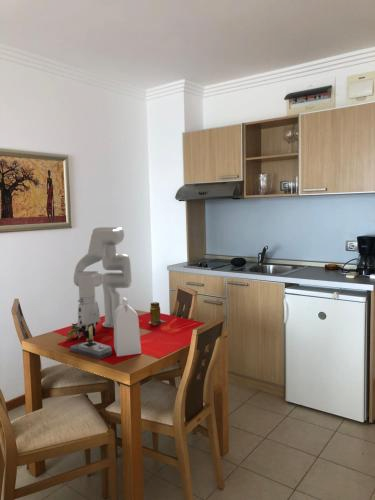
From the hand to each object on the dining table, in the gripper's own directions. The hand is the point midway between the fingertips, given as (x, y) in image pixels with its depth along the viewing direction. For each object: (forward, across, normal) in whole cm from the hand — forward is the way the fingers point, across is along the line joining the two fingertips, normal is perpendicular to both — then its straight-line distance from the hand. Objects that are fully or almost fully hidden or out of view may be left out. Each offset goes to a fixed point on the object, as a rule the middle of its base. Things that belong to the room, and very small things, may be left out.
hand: (89, 336), depth 201 cm
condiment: (+8, +56, +6) cm, 57 cm away
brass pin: (+2, 0, 0) cm, 2 cm away
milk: (+8, +12, -13) cm, 20 cm away
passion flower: (+8, +12, +23) cm, 27 cm away
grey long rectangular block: (+8, 0, 0) cm, 8 cm away
